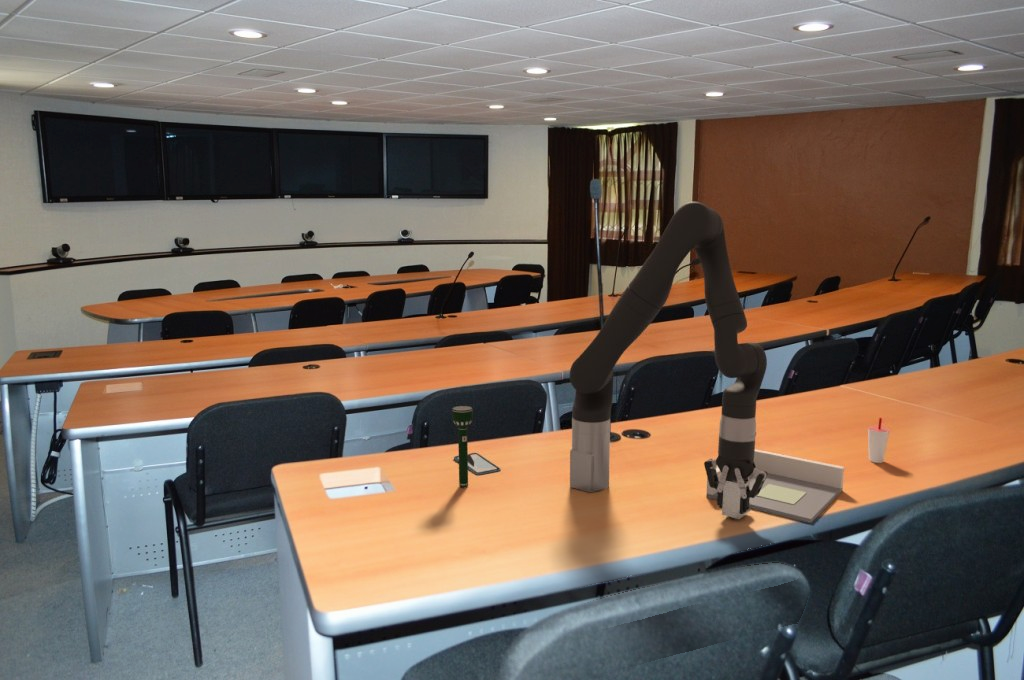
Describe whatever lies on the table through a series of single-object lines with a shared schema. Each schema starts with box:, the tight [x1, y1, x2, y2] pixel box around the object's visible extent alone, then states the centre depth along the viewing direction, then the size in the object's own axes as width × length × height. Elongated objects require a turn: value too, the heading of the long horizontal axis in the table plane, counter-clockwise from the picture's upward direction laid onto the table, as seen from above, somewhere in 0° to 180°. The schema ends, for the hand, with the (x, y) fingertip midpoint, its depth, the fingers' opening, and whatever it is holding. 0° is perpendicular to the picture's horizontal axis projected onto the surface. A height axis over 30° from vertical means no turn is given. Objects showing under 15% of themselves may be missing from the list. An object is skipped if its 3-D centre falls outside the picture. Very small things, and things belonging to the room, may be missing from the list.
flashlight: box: [451, 404, 474, 489], centre depth 183 cm, size 5×5×20 cm
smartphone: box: [453, 452, 501, 476], centre depth 201 cm, size 7×1×15 cm
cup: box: [867, 417, 891, 464], centre depth 201 cm, size 5×5×12 cm
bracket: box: [721, 479, 751, 520], centre depth 166 cm, size 6×4×8 cm, turn 141°
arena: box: [706, 448, 845, 524], centre depth 179 cm, size 24×24×6 cm
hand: (732, 509), depth 165 cm, fingers closed on bracket, 4 cm apart
